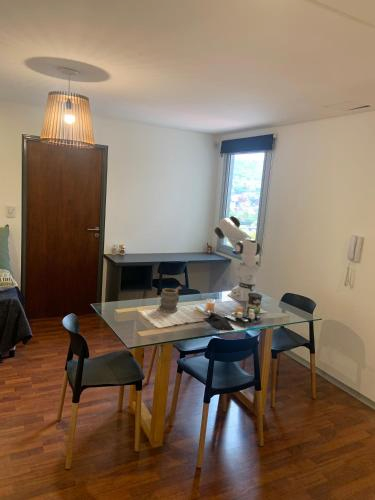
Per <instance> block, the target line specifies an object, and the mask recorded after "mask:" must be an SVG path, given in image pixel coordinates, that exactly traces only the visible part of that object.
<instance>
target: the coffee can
mask: <svg viewBox="0 0 375 500" xmlns="http://www.w3.org/2000/svg"><path fill="white" fill-rule="evenodd" d="M262 299H263V295H262V294H261V293H257V292H256V293H255V292H254V293H248V298H247V302H246V306H245V313H247V314H249V309H253V310H255V311H254V314H255V315H257V316H259V315H260V313H261V305H262Z"/></svg>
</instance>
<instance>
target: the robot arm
mask: <svg viewBox="0 0 375 500" xmlns="http://www.w3.org/2000/svg"><path fill="white" fill-rule="evenodd" d="M240 226H241V221H240V219H239V218H238V217H237V216H235V215H231V216H229V217H228V218H226V217H225V218H222V219H220V221H219V223H218V226H216V227H215V228H214V230H213V232H214V234H215V237H217V238H218V239H221V240H223V239H224V238H227V240H228V242H229V244H230V245H231V246H232V248H233V249H234V251H235V253H236V254H238V255H240V256H241V262H239V264H238V265H237V267H236V271H235V277H238V278H239V281H238V285H236V286H235V287H233V288H232V289H231V291H230V292H229V293H227V296H229V297H230V298H232V299H234V300H236V301H238V302H246V303H247V298H248V293H255V287H256V276H257V273H258V269H259V264H260V255H259V254H260V253H261V251H262V250H261V249H262V246H261V244H260V243H259V242H258V241H257V240H256V239H254V238H252V237H251V236H250V235H249V234H247V233H246V232H244V231H243V230H242V229H240Z"/></svg>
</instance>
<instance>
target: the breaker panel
mask: <svg viewBox="0 0 375 500" xmlns="http://www.w3.org/2000/svg"><path fill="white" fill-rule="evenodd" d="M242 313H243V316H242V318H238V317H237V315H236V311H235V312H232V313H231V314H227V315H225V316H223V317H224V318H226V319H227V321H228V322H229V323H232V324H234V325H237V326H239V327H241V328H248V327H250V326H254V325H257V324H260V323H262V322H263V319H262V318H261V316H259V315H258V316H257V315H255V317H254V319H251V318H249V314H247V313H246V311H242Z"/></svg>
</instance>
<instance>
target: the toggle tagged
mask: <svg viewBox="0 0 375 500" xmlns="http://www.w3.org/2000/svg"><path fill="white" fill-rule="evenodd" d="M254 317H255V314H254V313H252V312H251V313H249V318H251V319H254Z"/></svg>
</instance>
